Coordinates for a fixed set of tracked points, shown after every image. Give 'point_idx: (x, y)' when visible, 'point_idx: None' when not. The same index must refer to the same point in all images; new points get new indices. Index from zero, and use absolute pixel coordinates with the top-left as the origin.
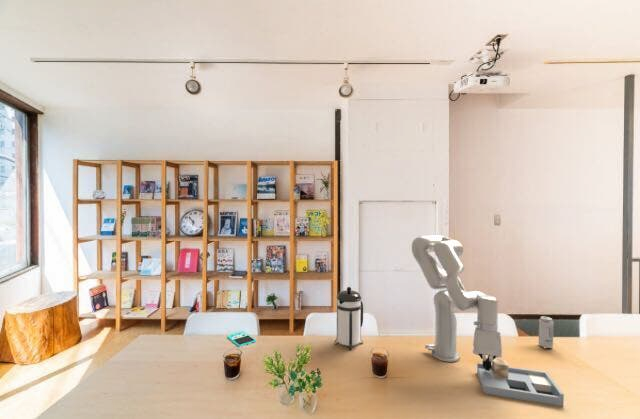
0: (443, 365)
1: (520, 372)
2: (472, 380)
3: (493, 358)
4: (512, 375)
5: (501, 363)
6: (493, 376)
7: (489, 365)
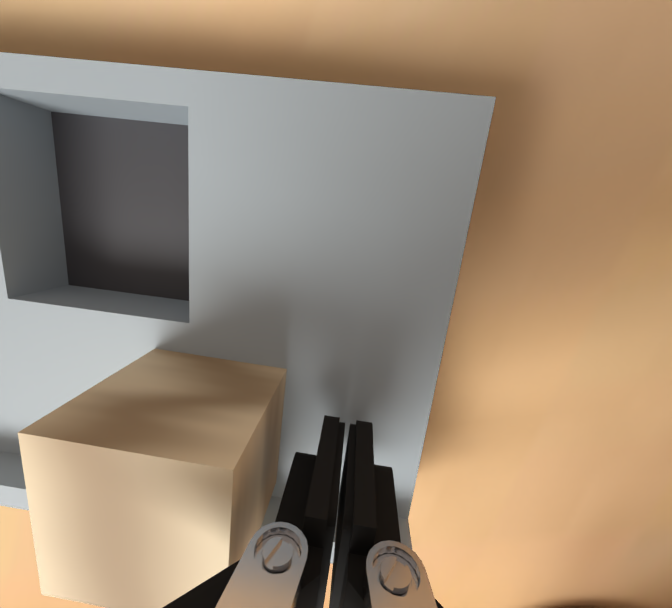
0: (668, 558)
1: (21, 459)
2: (491, 352)
3: (208, 597)
4: None
5: (116, 492)
6: (301, 352)
7: (318, 466)
